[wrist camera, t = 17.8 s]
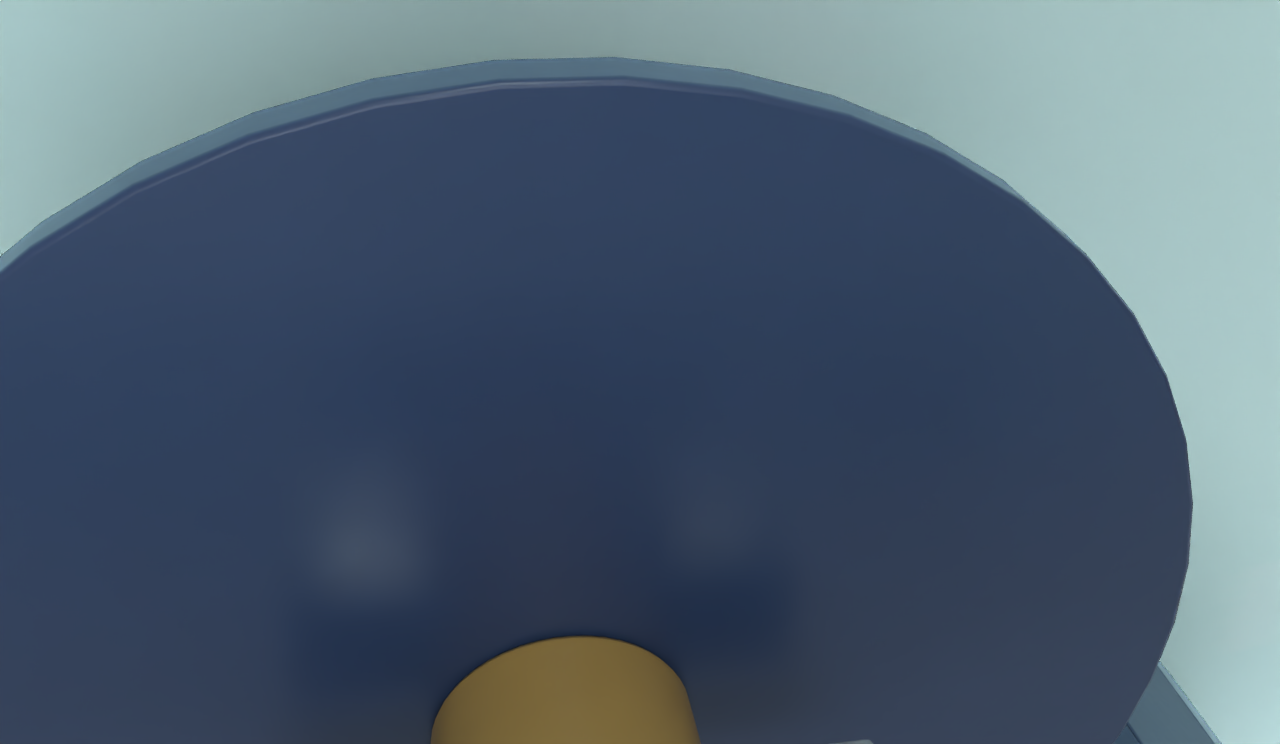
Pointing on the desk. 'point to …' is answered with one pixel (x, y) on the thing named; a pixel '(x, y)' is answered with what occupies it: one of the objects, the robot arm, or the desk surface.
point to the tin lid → (576, 432)
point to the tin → (1166, 716)
